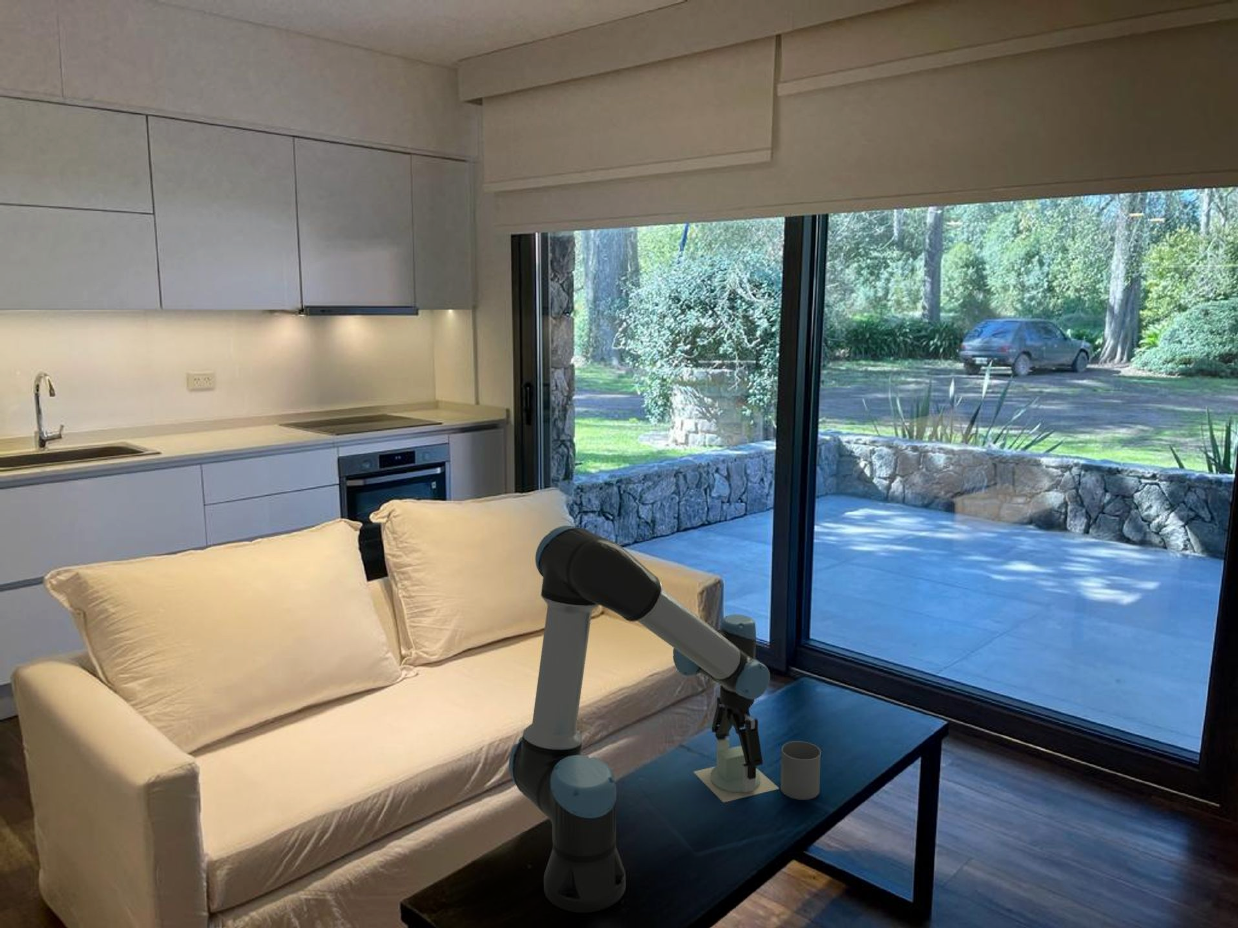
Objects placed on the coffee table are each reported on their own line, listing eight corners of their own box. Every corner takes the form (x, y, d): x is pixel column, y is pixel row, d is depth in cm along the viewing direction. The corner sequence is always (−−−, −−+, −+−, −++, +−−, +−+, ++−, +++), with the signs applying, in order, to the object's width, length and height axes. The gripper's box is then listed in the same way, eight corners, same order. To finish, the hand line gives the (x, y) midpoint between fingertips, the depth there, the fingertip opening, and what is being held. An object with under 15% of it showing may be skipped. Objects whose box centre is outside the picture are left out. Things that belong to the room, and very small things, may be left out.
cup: (819, 804, 199) (820, 761, 197) (780, 800, 201) (781, 757, 199) (818, 784, 207) (820, 742, 206) (781, 780, 209) (782, 739, 207)
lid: (726, 797, 201) (726, 768, 200) (702, 773, 211) (702, 745, 210) (769, 786, 205) (770, 757, 204) (744, 763, 215) (744, 736, 214)
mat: (723, 805, 199) (723, 801, 199) (693, 774, 212) (693, 771, 212) (779, 791, 204) (779, 788, 204) (746, 762, 217) (746, 759, 217)
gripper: (781, 703, 195) (778, 799, 199) (726, 663, 216) (724, 750, 220) (750, 710, 192) (747, 807, 196) (697, 668, 213) (696, 757, 217)
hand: (735, 777), depth 208 cm, fingers closed on lid, 11 cm apart
